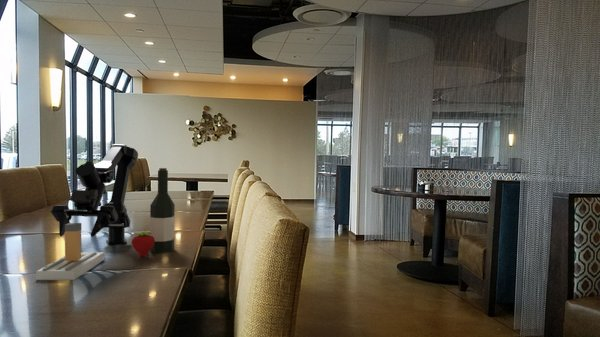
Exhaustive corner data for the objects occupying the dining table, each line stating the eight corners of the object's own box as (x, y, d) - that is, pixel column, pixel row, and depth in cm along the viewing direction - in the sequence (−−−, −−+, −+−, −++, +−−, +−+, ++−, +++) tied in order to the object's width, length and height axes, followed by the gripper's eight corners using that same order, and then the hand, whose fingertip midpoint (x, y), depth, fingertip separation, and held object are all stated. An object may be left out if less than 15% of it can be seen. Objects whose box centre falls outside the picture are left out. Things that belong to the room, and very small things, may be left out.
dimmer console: (72, 259, 129) (72, 250, 129) (104, 259, 130) (104, 250, 130) (36, 279, 109) (36, 268, 109) (74, 279, 110) (74, 268, 110)
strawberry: (129, 256, 134) (129, 227, 134) (151, 253, 139) (151, 225, 138) (134, 260, 129) (134, 230, 129) (157, 257, 134) (157, 228, 134)
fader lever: (69, 258, 120) (69, 223, 120) (81, 258, 121) (81, 223, 120) (64, 260, 118) (64, 224, 117) (77, 260, 118) (77, 224, 118)
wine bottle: (178, 248, 146) (179, 168, 145) (164, 254, 138) (165, 169, 137) (160, 246, 149) (161, 167, 147) (144, 251, 141) (145, 168, 140)
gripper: (53, 179, 125) (33, 220, 114) (114, 180, 126) (99, 221, 116) (66, 201, 133) (48, 241, 122) (123, 202, 134) (110, 241, 124)
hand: (76, 235), depth 121 cm, fingers open, 9 cm apart
